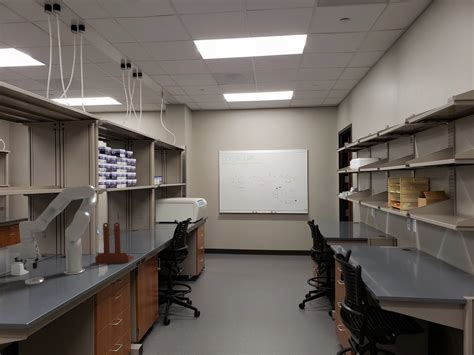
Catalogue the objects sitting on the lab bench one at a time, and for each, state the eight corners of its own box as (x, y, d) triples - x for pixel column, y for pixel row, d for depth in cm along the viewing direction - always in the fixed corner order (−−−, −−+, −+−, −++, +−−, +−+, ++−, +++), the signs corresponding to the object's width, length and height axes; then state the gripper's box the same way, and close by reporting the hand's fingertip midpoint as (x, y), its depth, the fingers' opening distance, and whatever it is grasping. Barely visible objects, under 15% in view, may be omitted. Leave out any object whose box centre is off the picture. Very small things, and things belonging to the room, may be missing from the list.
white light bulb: (29, 269, 214) (28, 260, 214) (36, 268, 215) (35, 259, 215) (23, 272, 208) (22, 262, 208) (31, 271, 208) (30, 262, 208)
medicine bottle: (29, 272, 226) (28, 254, 226) (20, 275, 219) (19, 257, 219) (20, 272, 228) (19, 254, 228) (11, 275, 221) (10, 257, 221)
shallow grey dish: (30, 280, 209) (30, 277, 209) (47, 279, 209) (47, 276, 209) (21, 285, 199) (21, 282, 199) (38, 284, 199) (38, 281, 199)
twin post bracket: (133, 258, 259) (132, 219, 259) (128, 262, 246) (127, 222, 246) (102, 259, 258) (101, 220, 258) (95, 263, 245) (94, 223, 245)
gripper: (44, 238, 216) (47, 265, 217) (17, 240, 215) (20, 268, 215) (38, 240, 208) (41, 269, 209) (10, 243, 207) (13, 272, 208)
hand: (30, 268), depth 212 cm, fingers closed on white light bulb, 4 cm apart
